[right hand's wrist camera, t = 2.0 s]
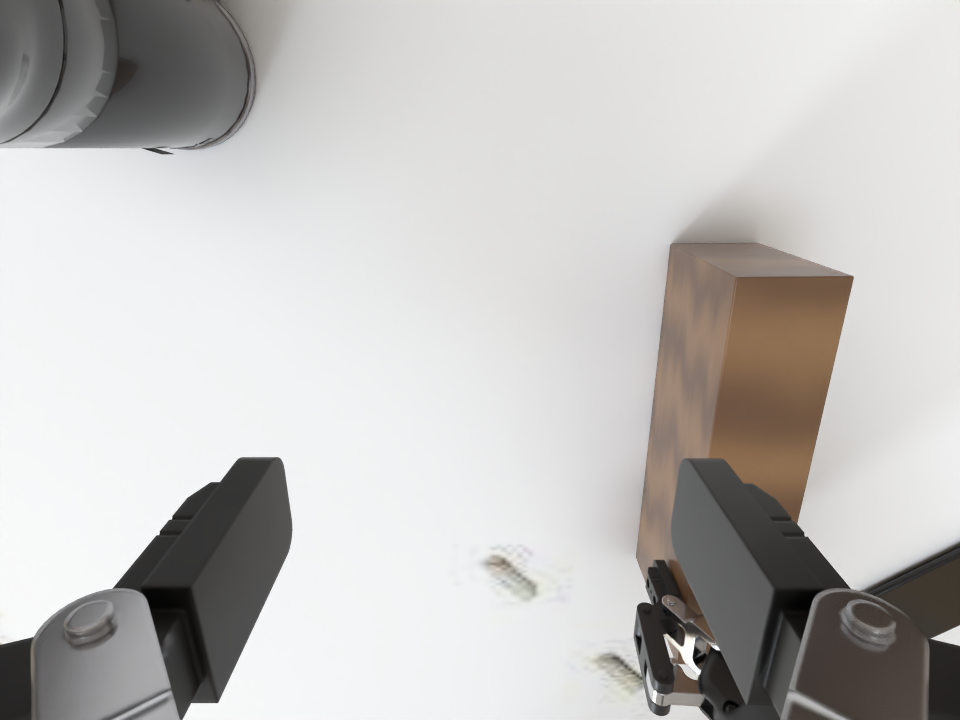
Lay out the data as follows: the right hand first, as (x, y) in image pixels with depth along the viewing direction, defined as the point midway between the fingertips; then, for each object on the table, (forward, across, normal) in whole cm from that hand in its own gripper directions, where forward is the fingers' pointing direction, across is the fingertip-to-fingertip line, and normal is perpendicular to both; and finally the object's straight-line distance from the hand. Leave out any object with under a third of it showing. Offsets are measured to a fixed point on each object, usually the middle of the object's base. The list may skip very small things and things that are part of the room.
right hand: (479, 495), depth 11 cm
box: (+30, -16, +13) cm, 36 cm away
